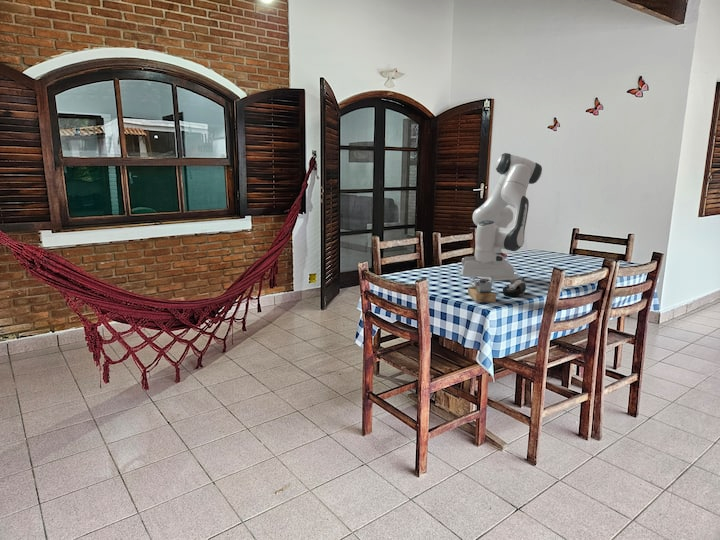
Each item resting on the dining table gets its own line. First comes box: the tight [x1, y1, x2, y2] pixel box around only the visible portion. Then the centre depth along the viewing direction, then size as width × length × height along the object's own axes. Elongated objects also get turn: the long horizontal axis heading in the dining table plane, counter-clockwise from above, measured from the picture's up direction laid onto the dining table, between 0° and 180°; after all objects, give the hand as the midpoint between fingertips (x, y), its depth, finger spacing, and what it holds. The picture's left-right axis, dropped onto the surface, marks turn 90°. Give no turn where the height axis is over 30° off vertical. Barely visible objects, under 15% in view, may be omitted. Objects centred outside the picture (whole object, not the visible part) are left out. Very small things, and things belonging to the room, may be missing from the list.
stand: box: [467, 285, 497, 303], centre depth 230 cm, size 9×14×4 cm, turn 3°
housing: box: [475, 278, 492, 293], centre depth 229 cm, size 8×5×5 cm, turn 3°
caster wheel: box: [502, 277, 527, 298], centre depth 236 cm, size 7×11×10 cm
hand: (482, 285), depth 230 cm, fingers closed on housing, 5 cm apart
